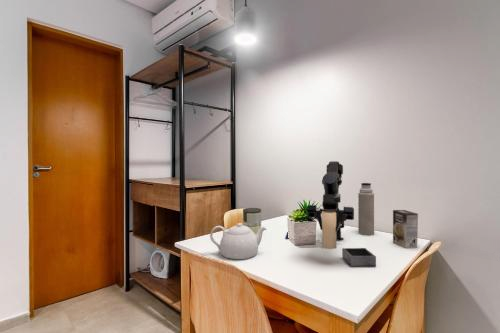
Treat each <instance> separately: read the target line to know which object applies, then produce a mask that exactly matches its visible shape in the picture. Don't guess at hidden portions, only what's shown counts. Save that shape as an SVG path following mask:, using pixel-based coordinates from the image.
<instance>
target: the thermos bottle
mask: <svg viewBox="0 0 500 333" xmlns="http://www.w3.org/2000/svg"><path fill="white" fill-rule="evenodd" d="M371 185H372V183H370V182H362V183H361V188H359V192H358V193H357V194H358V197H357V198H358V202H357V204H358V211H357V212H358V217H357V218H358V221H357V222H358V225H357V226H358V229H357V230H358V234H359V235H362V236H374V235H375V193H374V192H373V191H374V190H373V188H372V186H371Z"/></svg>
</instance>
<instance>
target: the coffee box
mask: <svg viewBox="0 0 500 333" xmlns="http://www.w3.org/2000/svg"><path fill="white" fill-rule="evenodd" d="M418 224H419V214H418V213H416V212H414V211H413V212H412V211H410V210H405V209H393V210H392V226H393V227H392V242H393V243H394V244H396V245H398V246H400V247H402V248H404V249H415V248H416V249H417V248H418V236H419V235H418V232H419V230H418V229H419V228H418V227H419V226H418Z"/></svg>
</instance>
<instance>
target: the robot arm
mask: <svg viewBox="0 0 500 333" xmlns="http://www.w3.org/2000/svg"><path fill="white" fill-rule="evenodd" d="M343 175H344V166H343V164H341V163H340V161H335V160H333V161H331V160H330V161H329V162H328V164H327V165H326V173H325V174H324V175H323V176H322V180H321V184H322V185H323V190H324V193H323V195H322V208H320V207H318V206H317V205H315V204H308V205H307V206H306V214H307V217H308V218H314V219H315V220H317V223H318V224H319V229H320V230H321V231H322V211H334V212H336V241H340V240H344V237H342V231H341V229H344V228H345V222H346V221H347V220H348V221H353V220H355V209H354V207H353V206H343V209H340V208H339V203H341V193H340V192H339V191H340V190H339V188H340V186H341V185H342V183H343V180H342V178H343V177H342V176H343Z"/></svg>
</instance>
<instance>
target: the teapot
mask: <svg viewBox="0 0 500 333" xmlns="http://www.w3.org/2000/svg"><path fill="white" fill-rule="evenodd" d="M216 229H221V230H222V231H223V232H222V236H221V239H220V243H218V242H217V241H216V240H215V239H214V237H213V234H214V232H215V230H216ZM264 231H267V228H266V227H265V226H261V228H260V229H259V230H258V232H257V234H256V235H255V234H254V233H253V231H252V230H251V229H250V228H249V227H247V226H243V223H242V222H238V223H236V225H233V226H231V227H230V228H227V229H225V227H224V226H222V225H216V226H214V227H213V228H212V229H211V231H210V234H209V238H210V241H211V242H212V243H213V244H214V245H215V246H216V247H217V248H218V250H219V251H220V254H221V256H223V257H224V258H227V259H229V258H230V259H231V260H247V259H251V258H253V257H255V256H256V255H257V254H258V251H259V246H260V245H261V241H262V237H263V232H264Z"/></svg>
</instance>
